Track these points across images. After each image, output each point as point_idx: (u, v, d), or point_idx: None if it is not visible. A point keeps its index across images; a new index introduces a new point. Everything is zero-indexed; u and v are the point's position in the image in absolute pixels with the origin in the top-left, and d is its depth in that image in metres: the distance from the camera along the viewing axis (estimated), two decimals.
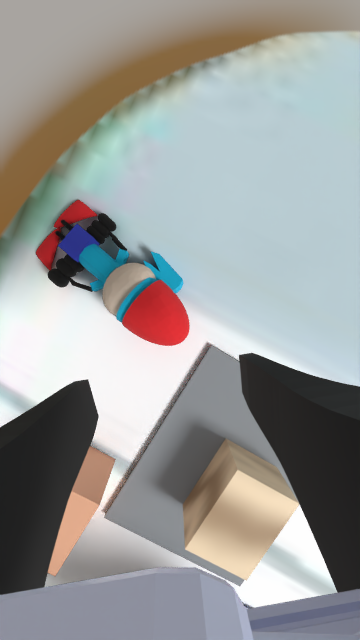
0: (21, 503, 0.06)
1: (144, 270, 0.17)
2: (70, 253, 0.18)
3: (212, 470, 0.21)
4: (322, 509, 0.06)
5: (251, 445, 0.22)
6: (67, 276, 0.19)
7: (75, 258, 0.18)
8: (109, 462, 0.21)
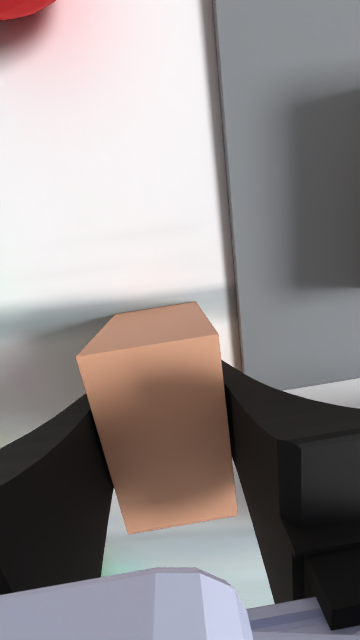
0: (81, 493, 0.06)
1: None
2: None
3: None
4: (260, 520, 0.05)
5: None
6: None
7: None
8: (188, 306, 0.10)
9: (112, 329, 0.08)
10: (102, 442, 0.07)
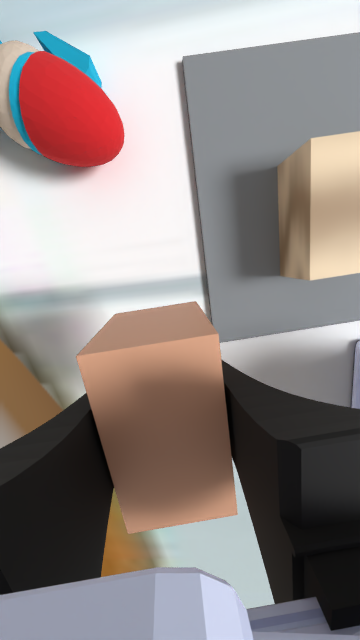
0: (81, 493, 0.06)
1: (24, 43, 0.12)
2: None
3: (285, 205, 0.16)
4: (260, 520, 0.06)
5: None
6: None
7: None
8: (188, 305, 0.10)
9: (112, 329, 0.08)
10: (102, 441, 0.07)
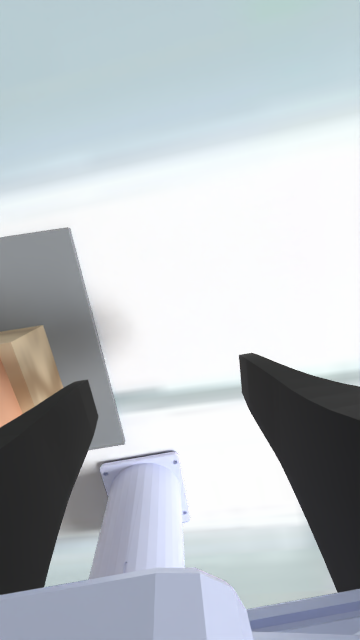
0: (21, 503, 0.06)
1: None
2: None
3: None
4: (322, 509, 0.06)
5: None
6: None
7: None
8: None
9: None
10: None
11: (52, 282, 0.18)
